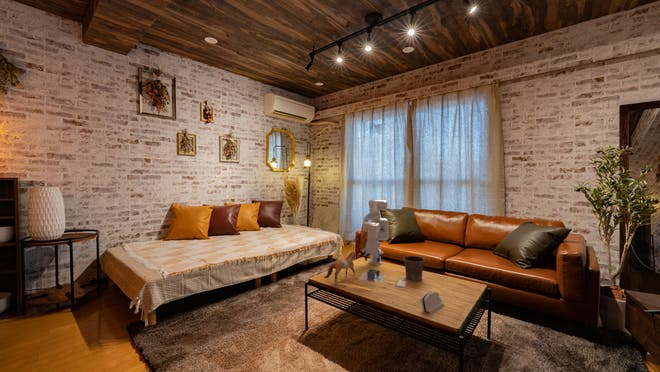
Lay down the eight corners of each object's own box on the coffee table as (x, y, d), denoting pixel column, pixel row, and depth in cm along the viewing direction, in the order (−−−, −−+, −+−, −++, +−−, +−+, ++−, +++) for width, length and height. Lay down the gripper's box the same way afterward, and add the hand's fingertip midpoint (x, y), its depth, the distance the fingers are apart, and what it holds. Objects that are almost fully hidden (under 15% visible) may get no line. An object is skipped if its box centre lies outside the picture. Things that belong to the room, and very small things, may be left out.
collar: (369, 275, 220) (369, 269, 220) (376, 276, 218) (376, 270, 217) (367, 277, 215) (367, 271, 214) (374, 279, 212) (374, 272, 212)
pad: (392, 280, 214) (392, 279, 214) (407, 282, 209) (407, 281, 209) (389, 285, 204) (389, 284, 204) (404, 287, 199) (404, 286, 199)
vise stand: (364, 273, 228) (364, 266, 228) (385, 276, 221) (385, 269, 220) (357, 281, 212) (357, 273, 212) (380, 285, 204) (380, 277, 204)
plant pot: (404, 281, 211) (404, 261, 210) (402, 274, 227) (402, 255, 226) (426, 283, 208) (426, 262, 207) (422, 275, 224) (422, 256, 223)
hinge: (430, 314, 161) (425, 296, 163) (423, 314, 164) (418, 296, 167) (444, 305, 172) (439, 289, 174) (437, 305, 175) (433, 289, 177)
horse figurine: (354, 275, 224) (354, 250, 223) (360, 278, 217) (360, 253, 217) (323, 284, 205) (323, 257, 205) (329, 287, 199) (329, 260, 198)
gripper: (384, 239, 215) (384, 261, 215) (363, 237, 222) (363, 258, 222) (382, 241, 208) (381, 264, 208) (360, 239, 215) (360, 261, 215)
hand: (372, 261), depth 215 cm, fingers open, 9 cm apart
